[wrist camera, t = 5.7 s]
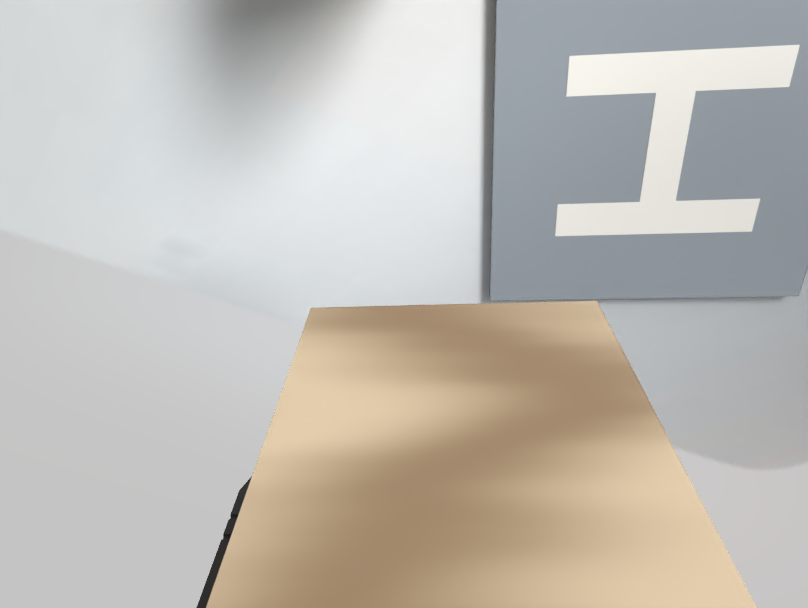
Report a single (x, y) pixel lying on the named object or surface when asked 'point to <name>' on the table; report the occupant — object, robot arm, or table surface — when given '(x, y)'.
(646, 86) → the letter board
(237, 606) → the oak block
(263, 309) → the table surface
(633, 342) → the table surface
